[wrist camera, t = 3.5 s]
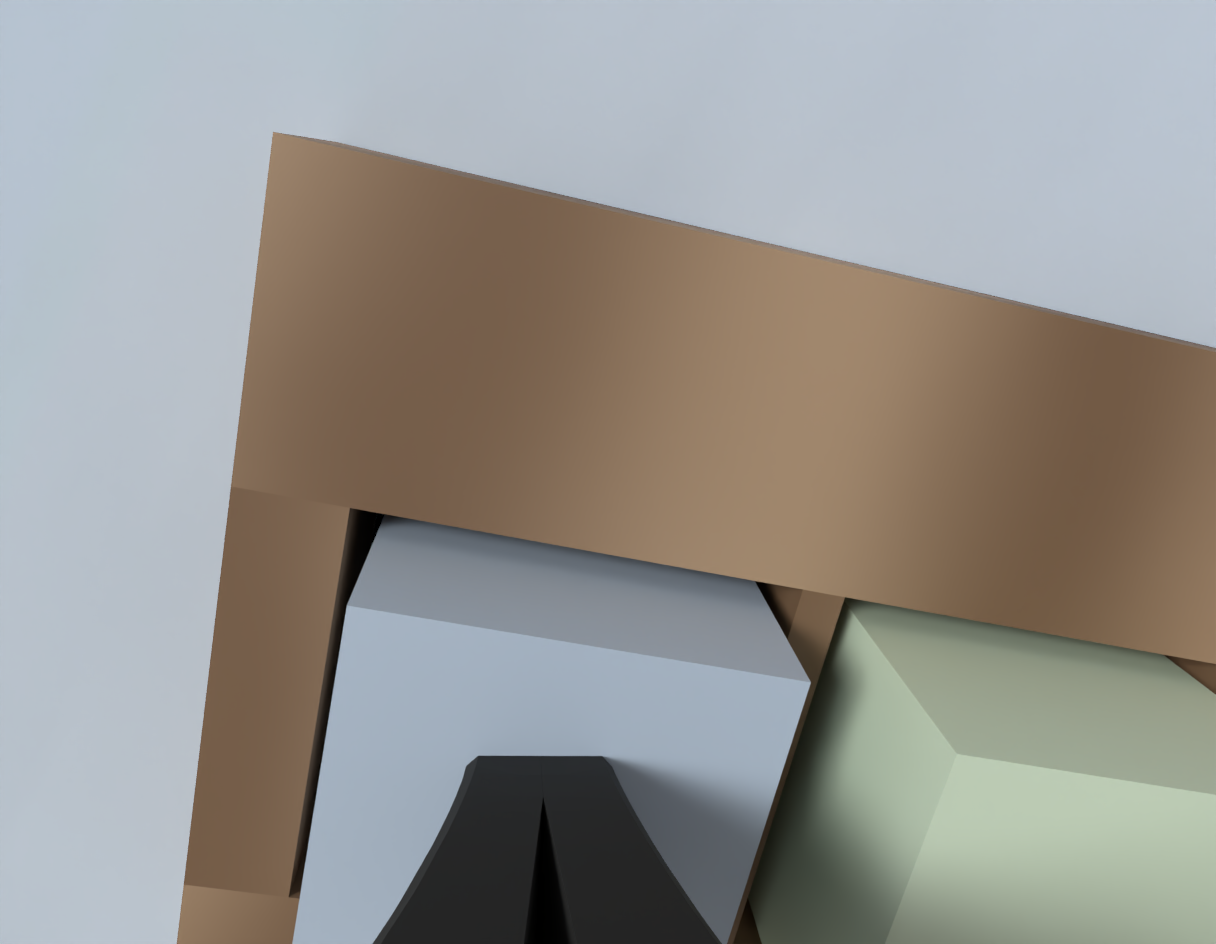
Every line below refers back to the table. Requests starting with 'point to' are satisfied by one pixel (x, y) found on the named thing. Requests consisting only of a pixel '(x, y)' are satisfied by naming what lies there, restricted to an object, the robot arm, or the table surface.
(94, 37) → the table surface
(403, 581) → the slate key
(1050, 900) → the sage key
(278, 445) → the brown wooden tray
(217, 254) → the table surface
